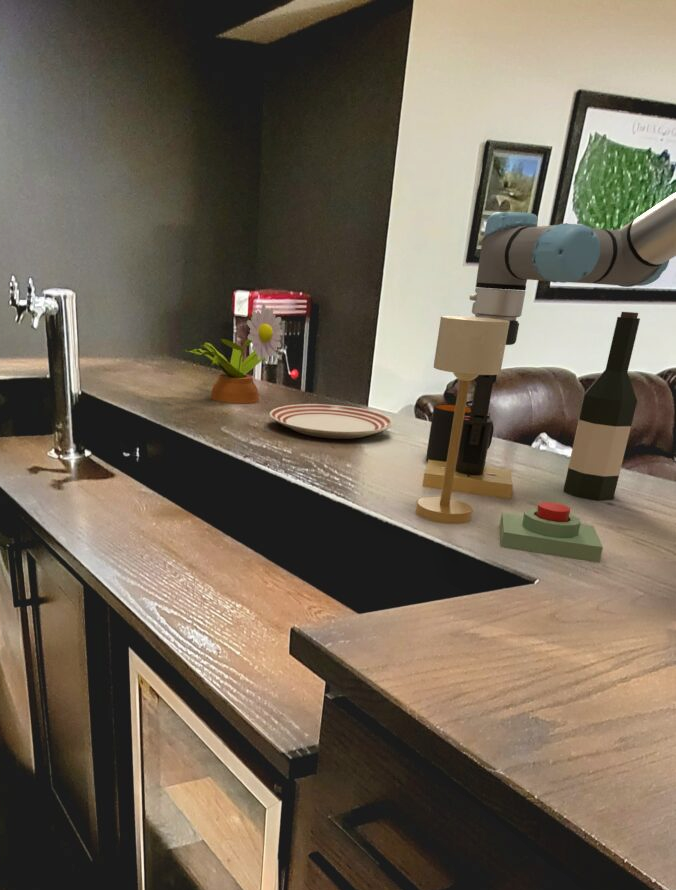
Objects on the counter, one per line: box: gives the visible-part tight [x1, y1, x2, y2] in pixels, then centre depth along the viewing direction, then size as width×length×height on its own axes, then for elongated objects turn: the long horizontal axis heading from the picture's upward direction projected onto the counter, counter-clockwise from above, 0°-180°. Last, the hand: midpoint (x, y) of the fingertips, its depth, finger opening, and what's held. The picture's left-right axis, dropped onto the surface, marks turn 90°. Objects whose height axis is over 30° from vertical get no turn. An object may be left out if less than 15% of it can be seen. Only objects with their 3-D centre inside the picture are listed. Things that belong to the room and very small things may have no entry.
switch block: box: [498, 507, 604, 563], centre depth 98 cm, size 12×9×4 cm
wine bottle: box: [563, 311, 641, 501], centre depth 119 cm, size 8×8×30 cm
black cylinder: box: [455, 416, 494, 475], centre depth 122 cm, size 5×5×9 cm
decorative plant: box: [184, 303, 284, 404], centre depth 190 cm, size 27×24×25 cm
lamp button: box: [536, 501, 571, 522], centre depth 97 cm, size 4×4×2 cm
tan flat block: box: [422, 460, 514, 500], centre depth 124 cm, size 14×10×3 cm
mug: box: [425, 403, 495, 462], centre depth 138 cm, size 8×12×10 cm
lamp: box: [415, 315, 510, 525], centre depth 103 cm, size 9×9×28 cm
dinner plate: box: [268, 403, 395, 440], centre depth 161 cm, size 28×27×3 cm
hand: (470, 458), depth 123 cm, fingers closed on black cylinder, 5 cm apart
